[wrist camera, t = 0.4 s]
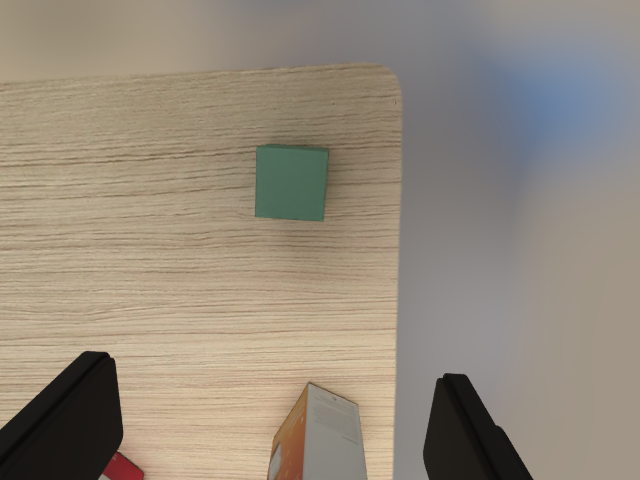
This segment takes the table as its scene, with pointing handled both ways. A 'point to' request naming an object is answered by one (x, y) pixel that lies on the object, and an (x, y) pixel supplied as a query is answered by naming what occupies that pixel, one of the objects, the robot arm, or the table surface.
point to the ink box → (121, 470)
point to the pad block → (291, 182)
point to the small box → (319, 440)
